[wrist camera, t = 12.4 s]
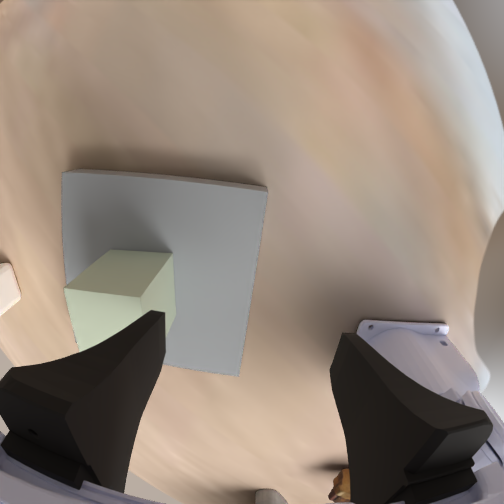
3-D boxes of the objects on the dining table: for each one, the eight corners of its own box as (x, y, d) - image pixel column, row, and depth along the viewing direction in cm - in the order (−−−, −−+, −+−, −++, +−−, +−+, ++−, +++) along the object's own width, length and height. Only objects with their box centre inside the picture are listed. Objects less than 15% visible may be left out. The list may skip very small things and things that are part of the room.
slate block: (266, 186, 21) (268, 192, 18) (240, 353, 25) (238, 376, 22) (83, 168, 20) (61, 172, 17) (90, 324, 25) (75, 342, 22)
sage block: (172, 253, 19) (140, 297, 13) (176, 314, 21) (151, 370, 15) (110, 249, 19) (63, 288, 13) (118, 307, 21) (81, 357, 15)
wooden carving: (317, 476, 32) (325, 537, 22) (333, 460, 30) (345, 526, 21) (408, 473, 33) (424, 521, 24) (425, 457, 32) (445, 507, 22)
